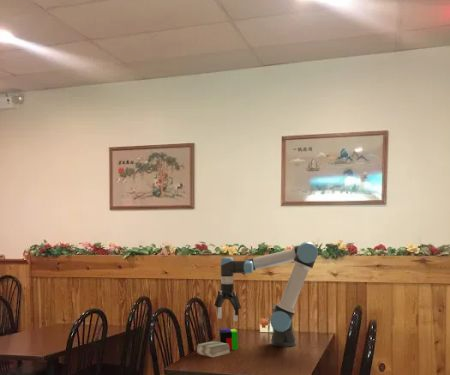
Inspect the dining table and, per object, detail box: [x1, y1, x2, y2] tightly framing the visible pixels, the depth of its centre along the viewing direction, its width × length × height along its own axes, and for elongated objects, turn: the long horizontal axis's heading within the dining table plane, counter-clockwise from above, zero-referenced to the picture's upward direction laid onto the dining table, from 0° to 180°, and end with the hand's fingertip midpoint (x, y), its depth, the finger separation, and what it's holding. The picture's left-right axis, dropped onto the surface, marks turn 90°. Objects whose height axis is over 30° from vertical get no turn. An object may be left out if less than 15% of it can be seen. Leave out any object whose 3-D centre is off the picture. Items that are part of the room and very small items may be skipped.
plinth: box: [196, 340, 231, 358], centre depth 266 cm, size 13×13×5 cm
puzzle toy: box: [218, 328, 239, 351], centre depth 278 cm, size 10×10×10 cm
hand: (227, 319), depth 280 cm, fingers open, 13 cm apart
